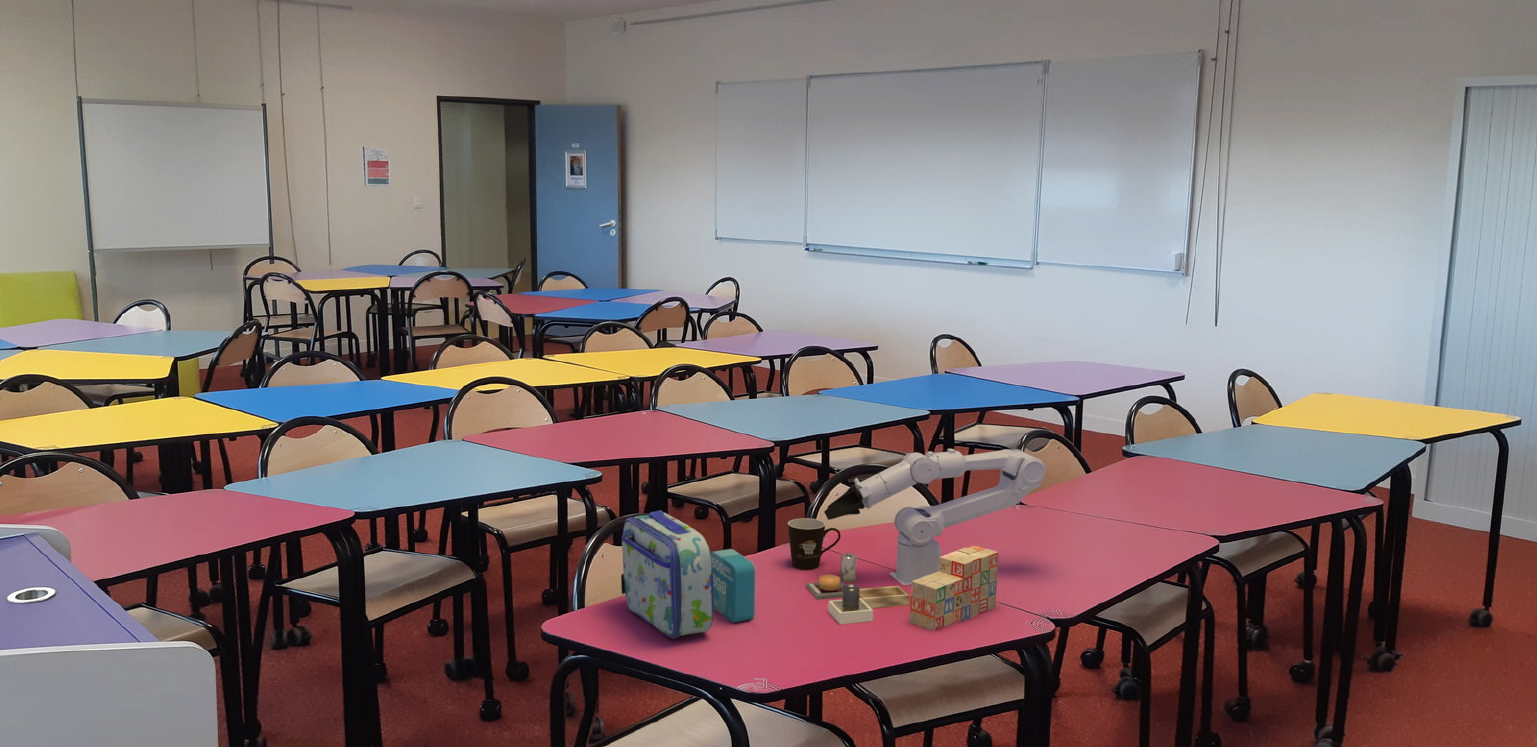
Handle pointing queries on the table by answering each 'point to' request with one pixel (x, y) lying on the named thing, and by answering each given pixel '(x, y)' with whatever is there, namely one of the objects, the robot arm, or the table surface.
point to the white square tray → (850, 612)
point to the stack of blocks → (955, 588)
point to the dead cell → (850, 598)
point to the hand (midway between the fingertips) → (827, 513)
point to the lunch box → (667, 574)
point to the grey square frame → (818, 595)
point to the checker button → (829, 582)
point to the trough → (884, 597)
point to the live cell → (848, 567)
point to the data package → (733, 585)
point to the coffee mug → (807, 542)
